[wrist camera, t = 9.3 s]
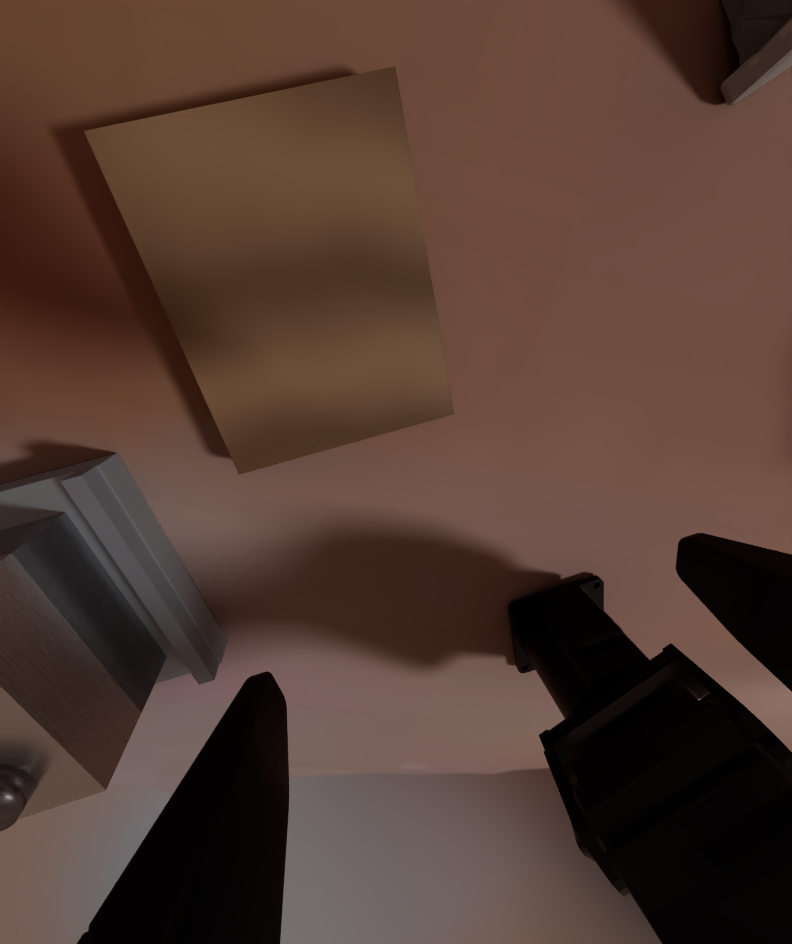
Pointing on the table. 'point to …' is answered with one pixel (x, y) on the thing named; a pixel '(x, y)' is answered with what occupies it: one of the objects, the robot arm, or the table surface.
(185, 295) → the stand
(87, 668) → the grey drawer
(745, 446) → the table surface
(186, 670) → the cabinet frame
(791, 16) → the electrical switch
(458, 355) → the table surface
